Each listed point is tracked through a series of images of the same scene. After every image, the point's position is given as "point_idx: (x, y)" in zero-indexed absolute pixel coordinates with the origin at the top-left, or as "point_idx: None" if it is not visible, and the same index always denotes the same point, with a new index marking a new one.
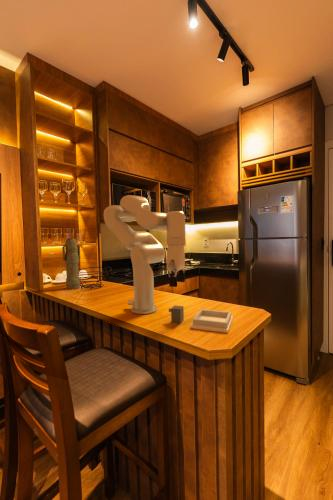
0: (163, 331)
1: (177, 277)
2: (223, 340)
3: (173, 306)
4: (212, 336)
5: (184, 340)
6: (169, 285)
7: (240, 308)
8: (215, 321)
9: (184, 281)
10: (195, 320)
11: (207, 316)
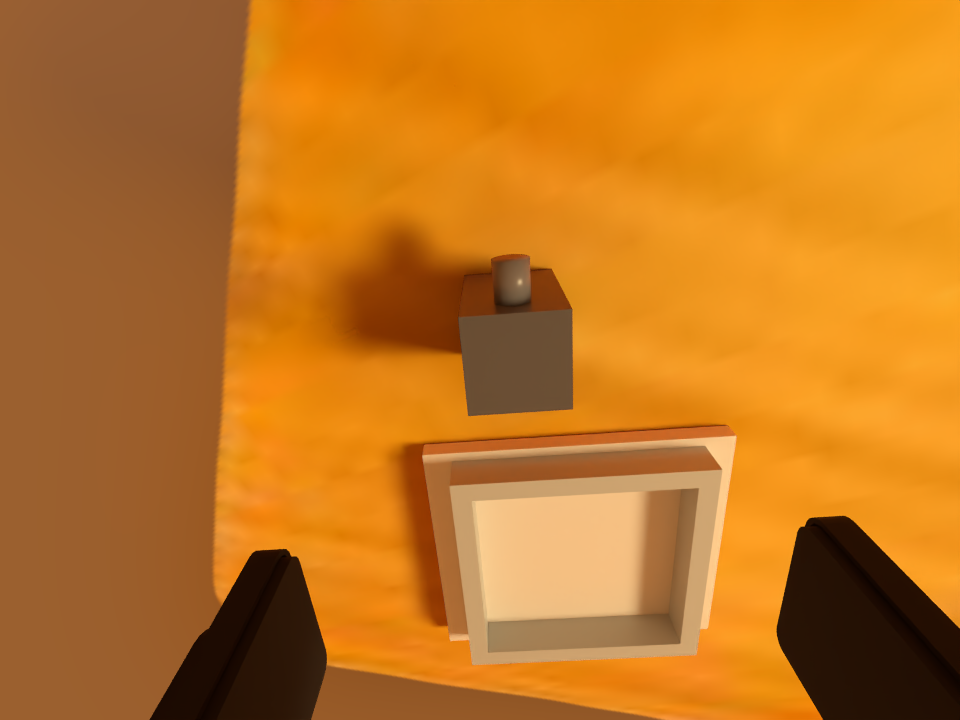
0: (270, 297)
1: (875, 609)
2: (348, 624)
3: (533, 314)
4: (367, 576)
5: (231, 471)
6: (247, 566)
7: None
8: (471, 612)
9: (790, 648)
10: (452, 498)
11: (648, 503)
